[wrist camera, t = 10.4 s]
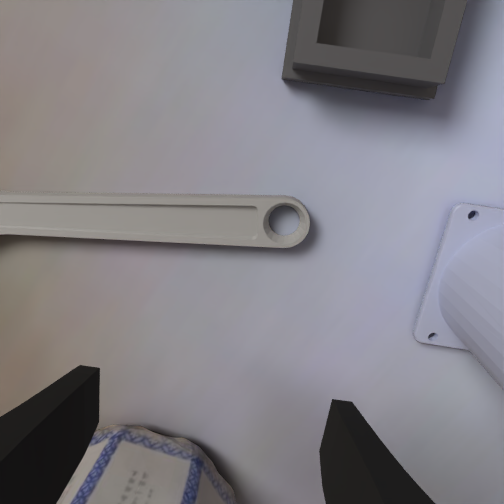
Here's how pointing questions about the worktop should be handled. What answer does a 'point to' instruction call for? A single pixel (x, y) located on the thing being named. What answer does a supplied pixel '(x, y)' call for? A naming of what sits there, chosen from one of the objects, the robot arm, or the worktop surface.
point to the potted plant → (144, 471)
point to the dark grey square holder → (373, 44)
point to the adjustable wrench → (151, 217)
